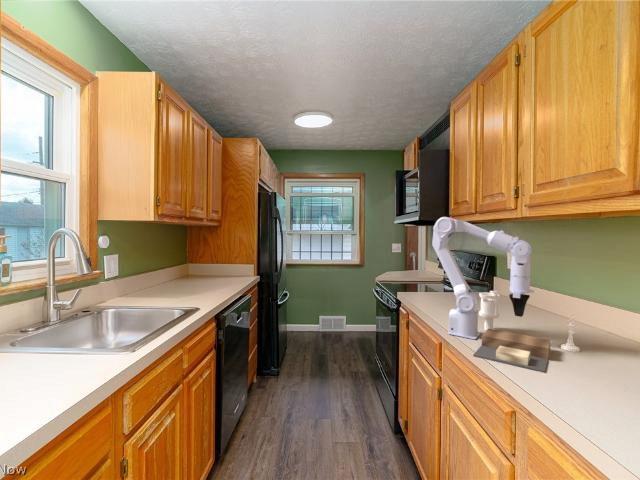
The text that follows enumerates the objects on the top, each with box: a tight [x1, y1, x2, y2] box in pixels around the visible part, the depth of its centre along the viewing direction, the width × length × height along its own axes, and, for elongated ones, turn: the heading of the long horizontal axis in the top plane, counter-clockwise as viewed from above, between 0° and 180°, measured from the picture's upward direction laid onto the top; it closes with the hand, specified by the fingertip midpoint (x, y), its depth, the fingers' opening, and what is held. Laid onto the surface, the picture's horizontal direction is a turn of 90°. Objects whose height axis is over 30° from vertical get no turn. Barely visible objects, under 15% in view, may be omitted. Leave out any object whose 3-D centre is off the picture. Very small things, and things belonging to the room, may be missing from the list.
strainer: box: [478, 290, 501, 332], centre depth 125 cm, size 7×7×15 cm
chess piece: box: [560, 318, 580, 353], centre depth 106 cm, size 5×5×10 cm
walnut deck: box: [481, 328, 551, 360], centre depth 106 cm, size 18×10×4 cm, turn 52°
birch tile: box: [496, 346, 530, 366], centre depth 96 cm, size 8×6×2 cm
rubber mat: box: [472, 344, 549, 374], centre depth 98 cm, size 18×10×1 cm, turn 52°
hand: (518, 315), depth 111 cm, fingers closed
